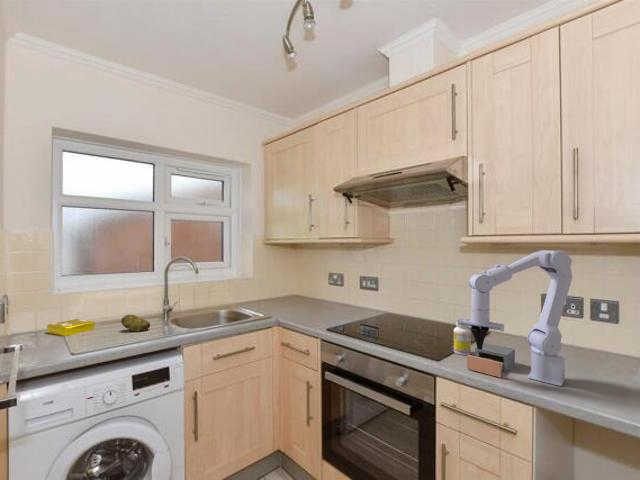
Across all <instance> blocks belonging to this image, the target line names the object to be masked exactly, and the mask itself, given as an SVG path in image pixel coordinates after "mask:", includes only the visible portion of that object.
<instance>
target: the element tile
mask: <svg viewBox="0 0 640 480" xmlns="http://www.w3.org/2000/svg"><path fill="white" fill-rule="evenodd" d="M93 330H95V321H94V320H93V321H92V320H86V319H81V318H80V319H79V318H76V319H70V320H64V321H59V322H54V323H49V324H47V325H46V334H48V335H54V336H59V337H68V336H72V335H76V334H81V333H87V332H89V331H93Z"/></svg>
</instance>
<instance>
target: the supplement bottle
mask: <svg viewBox="0 0 640 480" xmlns="http://www.w3.org/2000/svg"><path fill="white" fill-rule="evenodd" d="M455 325H456V327H454V328H453V352H454V353H455V354H458V355H461V356H467V355H471V352H472V348H471V347H472V344H471V342H472V338H471V337H472V331H471V328H469V326H466V325H457V321H456V322H455Z"/></svg>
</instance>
